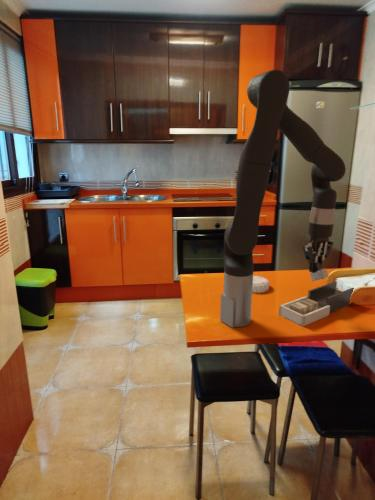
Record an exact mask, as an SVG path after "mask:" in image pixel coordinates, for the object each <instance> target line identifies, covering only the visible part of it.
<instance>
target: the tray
mask: <svg viewBox="0 0 375 500" xmlns="http://www.w3.org/2000/svg"><path fill="white" fill-rule="evenodd" d="M306 299H308V295H307V296H306V295H305V296H302V297H300V298H297V299H294V300H292V301H289V302H286V303H283V304H280V305H279V308H278V316H281V317H283V318H284V319H287V320H289V321H291V322H293V323H294V324H297V325H298V326H301V327H306V326H307V325H309V324H310V325H311V324H313V323H314V322H317V321H319V320H322V319H325V318H326V317H329V316H330V313H329V312H330V306H329V305H327V306H325V307H322V308H320V309H317V310H315V311H312V312H310V313H307V314H305V315H302V314H300V313H298V312H295V311H293V310H291V309H290V306H291V304H294V303H297V302H300V303H301V301H304V300H306Z"/></svg>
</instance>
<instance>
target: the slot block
mask: <svg viewBox="0 0 375 500" xmlns="http://www.w3.org/2000/svg"><path fill="white" fill-rule="evenodd" d="M337 283H338V282H337V281H332V282H329V283H326V284H324V285H321V286H317V287H315V288H312V289H309V290H307V291H308V294H307V297H308V298H307V299H310V300H313V301H316V302H318V309H320V308H322V307H325V306H327V305H329V306H330V312H329V314H331V313H333V312H336V311H339V310H340V309H342V308H346V307H347V306H350V305H349V303H350V297H351V294H352V292H353V289H354V288H355V287H350V288H348V289H346V290H343V291H341V290H339V289H337Z"/></svg>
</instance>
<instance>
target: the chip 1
mask: <svg viewBox="0 0 375 500" xmlns="http://www.w3.org/2000/svg"><path fill="white" fill-rule="evenodd" d="M290 309H291V310H293V311H295V312H298V313H300V314H302V315H305V314H307V311H308V306H307V305H304V304H302V303H300V302H297V303H294V304H291V306H290Z"/></svg>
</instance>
